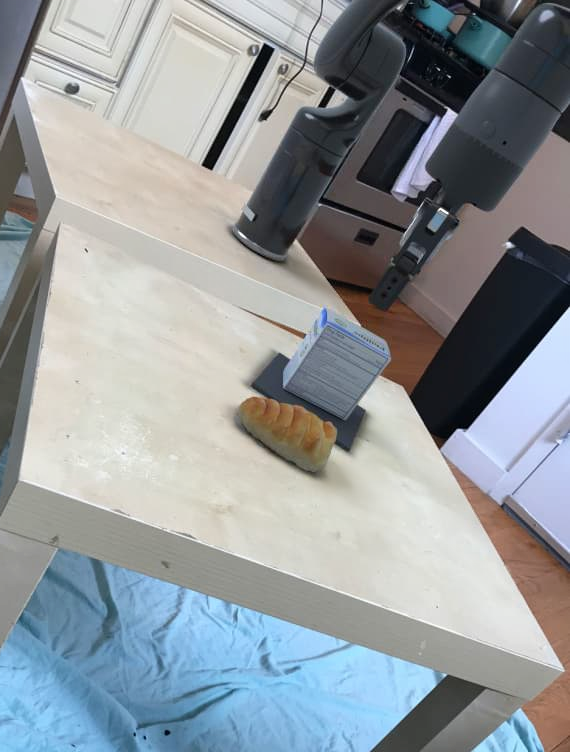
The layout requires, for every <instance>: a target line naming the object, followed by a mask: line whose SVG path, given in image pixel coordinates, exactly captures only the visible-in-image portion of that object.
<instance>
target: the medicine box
mask: <svg viewBox="0 0 570 752" xmlns="http://www.w3.org/2000/svg"><path fill="white" fill-rule="evenodd" d="M390 362H392V356H391V352H390V348H389V345H388V343H387V340H386V339H383V338H382V337H380V336H378V335H377V334H374V333H373V332H371V331H370V330H368V329H366V328H364V327H362V326H361V325H359V324H357V323H355V322H354V321H352V320H349V319H348V318H346V317H345V316H343V315H341V314H339V313H337V312H335V311H333V310H331V309H330V308H328V307H325V308H323V309H322V310H321V312H320V314H319V315H318V317H317V318H316V319H315V321H314V322H313V324H312V326H311V327H310V329H309V330H308V332H307V333H306V334H305V337H304V338H303V340H302V341H301V343H300V344H299V345H298V347H297V349H296V350H295V352H294V353H293V355H292V356H291V358H290V361H289V363H288V364H287V366H286V367H285V369H284V372H283V389H285V390H287V391H289V392H291V393H293V394H295V395H297V396H299V397H300V398H302V399H304V400H306V401H308V402H310V403H312V404H314V405H316V406H318V407H320V408H322V409H324V410H326V411H327V412H329V413H331V414H333V415H335V416H337V417H339V418H341V419H343V420H346V419H347V418H348V417H349V415H350V414H351V413H352V411H353V410H354V408H355V407H356V406H357V405H359V403H360V402H361V400H362V399H363V398H364V396H365V395H366V394H367V392H368V391H369V390H370V389H371V387H372V386H373V385H374V383H375V382H376V381H377V379H378V378H379V377H380V375H381V374H382V373H383V371H384V370H385V368H387V366H388V365H389V363H390Z"/></svg>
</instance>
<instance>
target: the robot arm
mask: <svg viewBox="0 0 570 752" xmlns="http://www.w3.org/2000/svg"><path fill="white" fill-rule="evenodd" d="M408 2H410V0H351V1H350V2H349V4H348V5H347V6H346V7H345V8H344V10H343V11H342V12H341V13H340V14H339V15H338V17H337V18H336V19H335V20H334V22H333V23H332V25H331V26H330V27H329V28H328V30H327V31H326V33H325V34H324V36H323V38H322V39H321V41H320V44H319V45H318V47H317V49H316V51H315V55H314V58H313V64H312V65H313V71H314V74H315V75H316V76H317V78H319V80H321V81H322V82H323V83H325V84H326V85H328V86H329V87H331V88H332V89H334V90H336V91H337V92H339V93H341V94H343V96H345V97H347V98H346V99H345V100H344V101H343V102H342V103H341V104H340V105H337V106H333V107H316V106H309V105H304V106H301V107H299V108H298V110H297V111H296V113H295V114H294V116H293V117H292V118H293V119H292V120H291V122H290V124H289V125H288V127H287V129H286V131H285V133H284V135H283V136H282V138H281V140H280V142H279V143H278V146H277V147H276V150H275V151H274V153H273V156H272V157H271V159H270V161H269V162H268V165H267V166H266V168H265V170H264V172H263V173H262V175H261V177H260V179H259V181H258V182H257V185H256V187H255V188H254V190H253V192H252V194H251V196H250V198H249V200H248V201H247V203H244V204H243V206H242V207H241V214H240V215H239V218H238V219H237V222H235V223H234V224H233V227H232V233H233V234H234V236H235V237H236V238H237V239H238V240H239V241H240V242H241V243H242V244H244V245H245V246H246V247H248V248H249V249H250V250H252V251H254V252H255V253H257V254H260V255H261V256H263V257H265V258H267V259H270V260H273V261H276V262H283V261H285V259H286V257H287V256H288V253H289V251H290V249H291V247H292V246H293V244H294V242H295V241H296V239H297V238H298V236H299V234H300V233H301V231H302V230H303V228H304V226H305V224H306V222H307V221H308V219H309V218H310V216H311V214H312V213H313V211H314V210H315V208H316V206H317V204H318V202H319V201H320V199H321V197H322V196H323V194H324V193H325V191H326V189H327V187H328V186H329V184H330V182H331V181H332V180H333V177H334V175H335V173H336V172H337V170H338V169H339V167H340V165H341V164H342V162H343V160H344V159H345V157H346V156H347V154H348V152H349V150H350V149H351V148H352V146H353V145H354V144H355V143H356V142H357V141H358V139H359V138H360V136H361V135H362V133H363V132H364V130H365V129H366V127H367V125H368V123H369V122H370V120H371V119H372V117H374V114H375V113H376V111H377V110H378V108H379V107H380V105H381V104H382V102H383V101H384V99H385V98H386V96H387V95H388V93H389V92H390V90H391V89H392V88H393V86H394V84H395V82H396V81H397V80H398V77H399V75H400V73H401V71H402V69H403V67H404V64H405V60H406V57H407V47H406V46H407V45H406V44H405V42H404V41H403V40H402V39H401V38H400V37H398V36H397V35H395V34H394V33H392V32H391V31H390V30H388V29H386V28H385V27H384V26H382V25H380V24H379V23H380V22H381V21H382V20H383V19H385V18H386V17H387V16H388V15H389V14H391V13H392V12H393V11H395V10H396V9H397V8H399V7H400V6H403V5H404V4H406V3H408ZM569 105H570V8H568V7H565V6H563V5H560V4H557V3H552V2H546V3H545V2H544V3H542V4H539V5H538V6H536V7H535V8H534V9H532V11H531V12H530V13H529V14H528V16H527V17H526V18H525V19H524V21H523V22H522V24H521V25H520V27H519V28H518V30H517V31H516V33H515V34H514V36H513V37H512V39H511V40H510V42H509V43H508V45H507V46H506V48H505V49H504V50H503V52H502V54H500V57H499V58H498V59H497V61H496V63H495V65H494V66H493V68H492V69H491V70H490V71H489V72H488V74H487V75H486V76H485V78H484V79H483V80H482V81H481V83H479V84H478V86H477V87H476V88H475V89H474V91H473V92H472V94H471V95H470V96H469V98H468V99H467V100H466V102H465V104H464V105H463V107H462V108H461V110H460V111H459V112H458V114H457V116H456V117H455V119H454V120H453V122H452V123H451V125H450V126H449V128H448V129H447V131H446V132H445V133H444V135H443V136H442V138H441V139H440V140H439V142H438V144H437V146H436V147H435V148H434V150H433V151H432V153H431V155H430V156H429V157H428V159H427V161H426V162H425V164H424V169H425V172H426V173H427V174H428V175H429V176H430V177H431V178H432V179H433V180H434V181H436V182H438V183H439V184H440V185H441V189H440V190H439V191H437V192H436V194H435V195H434V197H435V198H434V199H433V200H431V199H430V198H428V197H426V198H424V200H423V201H422V202H421V204H420V206H419V207H418V208H417V210H416V211H415V213H414V214H413V217H412V219H413V220H412V222H411V223H410V225H409V226H408V227H407V229H406V231H405V232H404V234H403V235H402V236H401V238H400V240H399V243H398V244H399V247H400V248H399V251H398V252H395V254H394V255H393V256H392V258H391V259H390V264H389V266H388V267H387V269H386V270H385V272H384V273H383V274H382V276H381V277H380V279H379V281H378V283H377V284H376V285H375V287H374V288H373V290H372V292H370V294H369V295H368V298H367V301H368V303H369V304H371V305H372V306H373V307H375V308H377V309H378V310H380V311H382V312H387V311H389V309H390V308H391V307H392V306H393V304H394V302H395V301H396V300H397V299H398V297H399V296H400V294H401V293H402V291H403V290H404V289H405V287H406V286H407V284H409V282H410V280H413V278H416V277H417V276H419V274H420V273H421V271H422V267H423V266H424V264H428V263H430V262H431V261H432V260H433V259H434V257H435V256H436V255H437V254H438V251H440V250H441V248H442V246H443V245H444V243H445V242H446V241H448V240H450V238H451V237H452V236H453V235H454V234H455V232H456V231H457V229H458V228H459V226H460V225H461V219H460V218H458V216H457V214H458V212H459V211H460V210H461V208H462V207H463V206H464V205H466V204H470V205H473V207H474V208H477V209H479V210H480V211H483V212H486V213H489V212H492V211H494V210H495V209H496V208H497V207H498V205H499V204H500V202H502V200H503V198H504V197H505V196H506V194H507V193H508V192H509V190H510V189H511V187H512V186H513V185H514V184H515V182H516V181H517V180H518V178H519V177H520V176H521V174H522V173H523V171H525V169H526V168H527V166H528V165H529V164H530V162H531V161H532V160H533V158H534V157H535V155H536V154H537V153H538V152H539V150H540V149H541V147H542V146H543V145H544V142H546V140H547V139H548V137H549V136H550V134H551V132H552V131H553V128H554V127H555V125H556V123H557V121H558V120H559V118H560V117H561V115H562V114H561V113H564V111H566V109H567V108H568V106H569Z"/></svg>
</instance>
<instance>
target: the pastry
mask: <svg viewBox="0 0 570 752" xmlns="http://www.w3.org/2000/svg"><path fill="white" fill-rule="evenodd" d="M237 413H238V416H239V419H240V421H241V423H242V425H243V426H244V427H245V429H246V432H248V433H250V434H251V436H252V437H253V438H255V439H258V440H260V442H262V443H263V444H264V445H265V447H266V448H269V449H271V450H272V451H274V452H275V453H276V454H277V455H278V456H280V457H282V458H284V459H285V460H287V461H289V462H290V461H291V462H293V463H295V465H296V466H297V467H298V468H300V469H302V470H304V471H308V472H312V473H316V472H318V471H321V470H323V469H325V466H326V464H327V463H328V461H329V459H330V456H331V454H332V450H333V446H334V445H335V444H336V443H335V441H336V436H337V429H336V428H335V427H334V426H333V424H332V423H331V422H324V421H322V420H321V419H319V418H318V417H317V416H316V415H315V414H313V413H312V412H309V411H307V410H306V409H305V408H303V407H302V406H298V405H290V404H285V403H279V402H277V401H276V400H274V399H269V398H264V397H259V396H251V397H248V398H246V399H245V400H243V401H242V403H240V405H239V406H238V407H237Z"/></svg>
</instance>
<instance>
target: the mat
mask: <svg viewBox="0 0 570 752" xmlns="http://www.w3.org/2000/svg"><path fill="white" fill-rule="evenodd" d="M290 360H291V358H289V357H288V356H286V355H284V354H283V353H281V352H278V354H277V355H276V356H275V357H274V358H273V359H272V360H271V361H270V363H269V364H268V365H267V366H266V367H265V368H264V369H263V370H262V371H261V373H260V374H259V375H258V376H257V377H256V378H255V379H254V381H252V382H251V385H250V387H252V388H253V389H255V390H256V391H257V392H259V393H260V394H262V395H264V396H265V397H266V398H267V399H274V400H276V401H277V402H279V403H285V404H290V405H298V406H302V407H303V408H305V409H306V410H307V411H309V412H312V413H313V414H315V415H316V416H317V417H318V418H319V419H321V420H322V421H324V422H331V423H332V424H333V426H334V427H335V428H336V429H337V436H336V441H335V443H334V444H336V445H337V446H339V447H340V448H342V449H343V450H344V451H346V452H350V451H351V449H352V446H353V444H354V442H355V439H356V437H357V434H358V432H359V429H360V427H361V424H362V422H363V419H364V417H365V415H366V412H367V410H366V409H365V408H363V407H362V406H360V405H359V404H357V406H356V407H355V408H354V410H353V411H352V413H351V414H350V415H349V417H348V418H347V419H346V420H343V419H341V418H339V417H337V416H335V415H333V414H331V413H329V412H327V411H326V410H324V409H322V408H320V407H318V406H316V405H314V404H312V403H310V402H308V401H306V400H304V399H302V398H300V397H299V396H297V395H295V394H293V393H291V392H289V391H287V390H285V389H283V372H284V369H285V367H286V366H287V364H288V363H289V361H290Z"/></svg>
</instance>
